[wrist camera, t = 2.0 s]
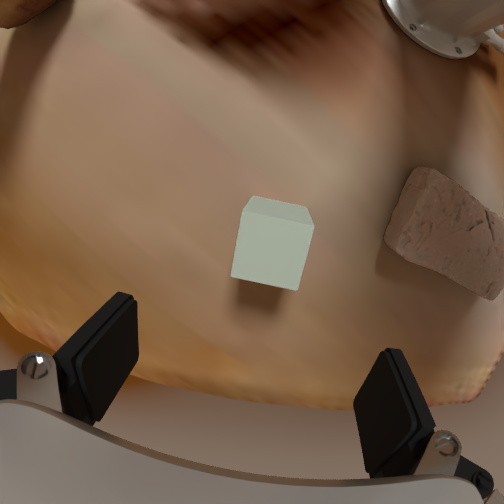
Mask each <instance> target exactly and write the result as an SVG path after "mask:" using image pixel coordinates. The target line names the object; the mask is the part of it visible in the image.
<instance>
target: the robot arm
mask: <svg viewBox="0 0 504 504" xmlns="http://www.w3.org/2000/svg"><path fill="white" fill-rule="evenodd" d="M382 2H383V5H384V6H385V8H386V10H387V12H388V14H389V15H390V16H391V18H392V19H393V20H394V22H395V23H396V24H397V25H398V26H399V27H400V28H401V29H402V31H403V32H404V33H406V34H407V35H408V36H409V37H410V38H411V39H412V40H414V41H415V42H416V43H418V44H419V45H421V46H422V47H424V48H425V49H427V50H429V51H431V52H432V53H435V54H437V55H440V56H442V57H446V58H450V59H461V58H466V57H468V56H470V55H473V54H474V53H475V52H476V51H477V50H478V48H479V46H480V44H481V42H483V43H484V44H486V45H492V46H493V47H494V48H495V49H496V50H497V51H499V52H500V53H501V54H503V55H504V39H503V38H501V37H499V36H498V35H496V34H495V31H496V32H497V33H499V34H501V33H502V32H503V26H502V24H504V0H382ZM138 357H139V346H138V319H137V301H136V300H134V298H133V296H132V295H129V294H126V293H123V292H117V293H116V294H115V295H114V296H113V297H112V298H111V299H110V300H108V301H107V302H106V303H105V304H104V305H103V306H102V307H101V308H100V309H99V310H98V311H97V312H96V313H95V314H94V315H93V316H92V317H91V318H90V319H89V320H87V321H86V322H85V323H84V324H83V325H82V326H81V327H80V328H79V329H78V330H77V331H76V332H75V333H74V334H73V335H72V336H71V337H70V338H69V339H68V341H67V342H66V343H65V344H64V345H63V346H62V347H61V348H60V349H59V350H58V351H57V352H56V353H55V354H54V355H53V356H52V357H51V356H50V355H48V354H47V353H44V352H31V353H28V354H26V355H25V356H23V357H22V358H21V359H20V361H19V362H18V365H17V369H11V370H3V371H0V504H504V496H503V495H502V494H501V493H500V492H499V491H498V490H497V489H495V490H494V491H493V487H494V482H493V478H492V476H491V475H490V473H489V472H487V471H486V470H485V469H483V468H481V467H479V466H478V465H476V464H474V463H473V462H471V461H469V460H468V459H466V458H464V457H463V456H461V450H462V446H461V443H460V441H459V439H458V438H457V436H456V435H455V434H453V433H452V432H450V431H447V430H439V431H437V432H434V429H433V428H434V427H435V426H436V425H435V422H434V420H433V418H432V415H431V413H430V410H429V408H428V406H427V404H426V401H425V399H424V397H423V395H422V392H421V390H420V388H419V386H418V384H417V381H416V379H415V377H414V375H413V373H412V371H411V369H410V367H409V365H408V363H407V361H406V359H405V357H404V355H403V353H402V351H401V350H400V349H393V348H386V349H385V350H384V351H382V352H380V354H379V356H378V358H377V360H376V362H375V363H374V365H373V367H372V369H371V371H370V373H369V374H368V376H367V378H366V380H365V381H364V383H363V385H362V386H361V388H360V390H359V392H358V393H357V395H356V397H355V399H354V402H353V406H354V411H355V415H356V421H357V426H358V431H359V436H360V442H361V447H362V453H363V458H364V464H365V470H366V472H367V473H369V475H370V479H353V480H352V479H351V480H321V479H320V480H319V479H299V478H286V477H276V476H267V475H259V474H252V473H245V472H239V471H234V470H228V469H223V468H218V467H214V466H209V465H205V464H201V463H197V462H193V461H188V460H185V459H181V458H178V457H174V456H171V455H167V454H164V453H161V452H158V451H155V450H152V449H149V448H146V447H143V446H140V445H138V444H135V443H132V442H129V441H127V440H124V439H122V438H119V437H117V436H114V435H111V434H109V433H107V432H104V431H102V430H100V429H97V428H95V427H93V425H94V423H95V422H96V421H98V422H99V421H100V420H101V419H102V418H103V416H104V414H105V412H106V411H107V409H108V408H109V406H110V404H111V403H112V401H113V400H114V398H115V396H116V395H117V393H118V391H119V390H120V388H121V387H122V385H123V383H124V382H125V380H126V379H127V377H128V375H129V374H130V372H131V371H132V369H133V367H134V366H135V364H136V363H137V361H138Z"/></svg>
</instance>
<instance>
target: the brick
mask: <svg viewBox="0 0 504 504" xmlns="http://www.w3.org/2000/svg"><path fill="white" fill-rule="evenodd" d="M383 240H384V242H385V243H386V244H387V245H388V246H389V247H390V248H392V250H393V251H395V252H396V253H397V254H399V255H400V256H402V257H403V258H404V259H405V260H406V261H409V262H411V263H414V264H417V265H420V266H423V267H426V268H428V269H430V270H433V271H436V272H438V273H440V274H442V275H444V276H446V277H447V278H449V279H451V280H452V281H454V282H456V283H458V284H459V285H461V286H463V287H465V288H466V289H468V290H470V291H472V292H474V293H476V294H478V295H479V296H481V297H483V298H486V299H488V300H494V299H495V298H496V297H497V296H498V294H499V293H500V291H501V290H502V289H503V287H504V220H503V219H502V218H500V217H499V216H497V215H496V214H495V213H493V212H491V211H489V209H488V208H486V207H485V206H483V205H482V204H481V203H480V202H479V201H478V200H476V199H475V198H474V197H473V196H471V195H470V194H469V193H468V191H465V190H464V189H463V188H462V187H461V186H460V185H458V184H457V183H456V182H454V181H453V180H452V179H450V178H449V177H447V176H445V175H443V174H442V173H441V172H439V171H438V170H436V169H434V168H432V167H431V168H427V167H416V168H415V169H414V170H413V171H412V172H411V174H410V175H409V177H408V179H407V181H406V184H405V186H404V188H403V190H402V192H401V195H400V198H399V201H398V203H397V206H396V207H395V209H394V210H393V212H392V215H391V220H390V223H389V225H388V226H387V228H386V231H385V235H384V238H383Z"/></svg>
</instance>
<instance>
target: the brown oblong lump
mask: <svg viewBox="0 0 504 504" xmlns="http://www.w3.org/2000/svg"><path fill="white" fill-rule="evenodd" d="M56 1H57V0H0V27H1V28H6V29H10V28H14V27H17V26H20V25H23V24H25V23H27V22H28V21H30V20H31V19H32V18H34V17H35V16H36V15H38V14H39V13H41V12H42V11H44V10H45V9H47V8H48V7H50V6H51V5H52V4H54V2H56Z"/></svg>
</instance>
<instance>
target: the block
mask: <svg viewBox="0 0 504 504" xmlns="http://www.w3.org/2000/svg"><path fill="white" fill-rule="evenodd" d="M314 227H315V226H314V223H313V221H312V219H311V216H310V214H309V212H308V209H307V207H304V206H300V205H295V204H291V203H286V202H282V201H277V200H272V199H267V198H263V197H258V196H252V197H251V199H250V200H249V202H248V203H247V205H246V206H245V207H244V209H243V210H242V215H241V221H240V226H239V232H238V237H237V243H236V248H235V254H234V259H233V265H232V271H231V277H234V278H239V279H244V280H248V281H253V282H257V283H262V284H267V285H272V286H276V287H281V288H286V289H291V290H296V291H297V289H298V286H299V282H300V279H301V275H302V272H303V268H304V265H305V261H306V257H307V254H308V250H309V246H310V242H311V238H312V235H313V231H314Z"/></svg>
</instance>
